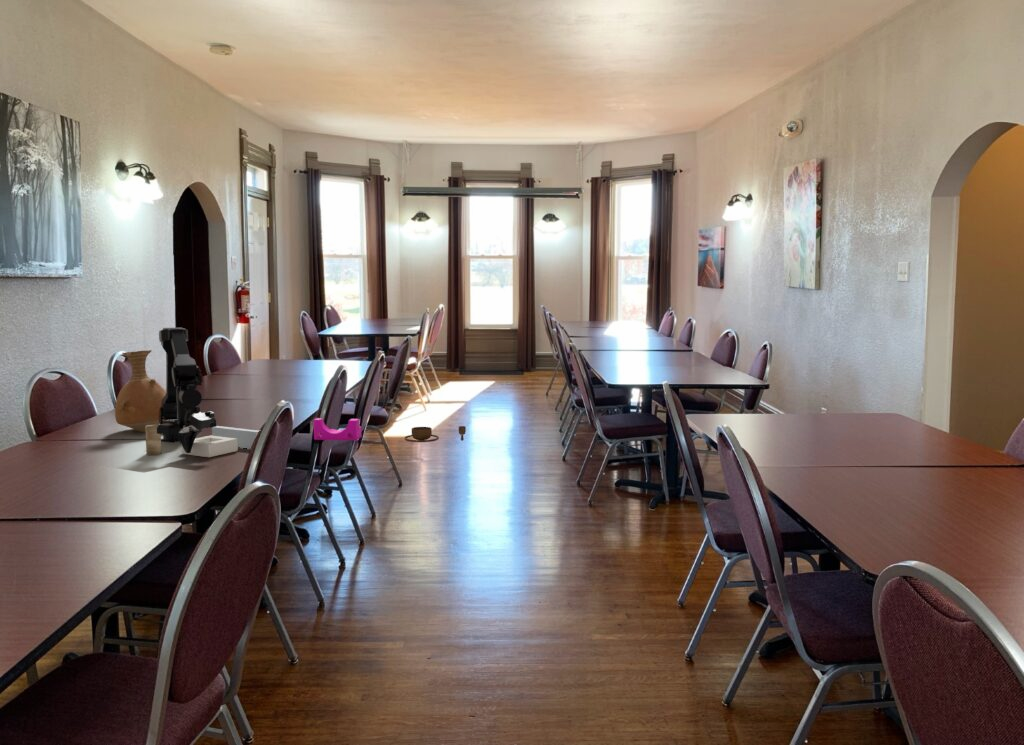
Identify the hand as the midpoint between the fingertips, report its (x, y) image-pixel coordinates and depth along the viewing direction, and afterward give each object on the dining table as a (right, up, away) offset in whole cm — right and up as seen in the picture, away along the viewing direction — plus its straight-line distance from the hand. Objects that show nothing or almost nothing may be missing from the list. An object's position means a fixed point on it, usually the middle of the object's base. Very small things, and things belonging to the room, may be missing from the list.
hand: (188, 452), depth 271 cm
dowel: (-13, -1, +5) cm, 14 cm away
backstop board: (+10, 0, +18) cm, 20 cm away
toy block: (+40, +1, +32) cm, 52 cm away
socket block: (+4, -1, +8) cm, 9 cm away
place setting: (+73, 0, +29) cm, 78 cm away
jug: (-32, +3, +42) cm, 53 cm away
